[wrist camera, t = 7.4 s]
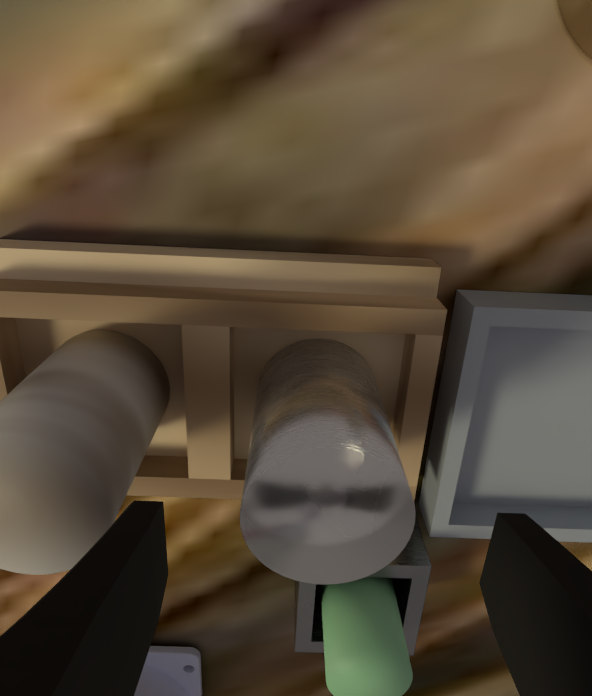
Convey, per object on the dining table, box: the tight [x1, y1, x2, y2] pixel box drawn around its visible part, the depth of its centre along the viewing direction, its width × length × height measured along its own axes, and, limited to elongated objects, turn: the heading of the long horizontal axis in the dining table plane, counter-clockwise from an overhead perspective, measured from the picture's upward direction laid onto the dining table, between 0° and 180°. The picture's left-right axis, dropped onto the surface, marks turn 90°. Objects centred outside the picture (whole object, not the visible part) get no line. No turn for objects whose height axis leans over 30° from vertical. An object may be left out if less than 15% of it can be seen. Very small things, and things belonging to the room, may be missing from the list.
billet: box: [240, 339, 416, 585], centre depth 14 cm, size 4×4×6 cm
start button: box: [320, 577, 413, 696], centre depth 18 cm, size 3×3×4 cm
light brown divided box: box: [0, 239, 447, 575], centre depth 15 cm, size 9×14×7 cm, turn 87°
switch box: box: [295, 516, 431, 655], centre depth 20 cm, size 5×5×3 cm
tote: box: [419, 289, 592, 542], centre depth 18 cm, size 9×9×2 cm
